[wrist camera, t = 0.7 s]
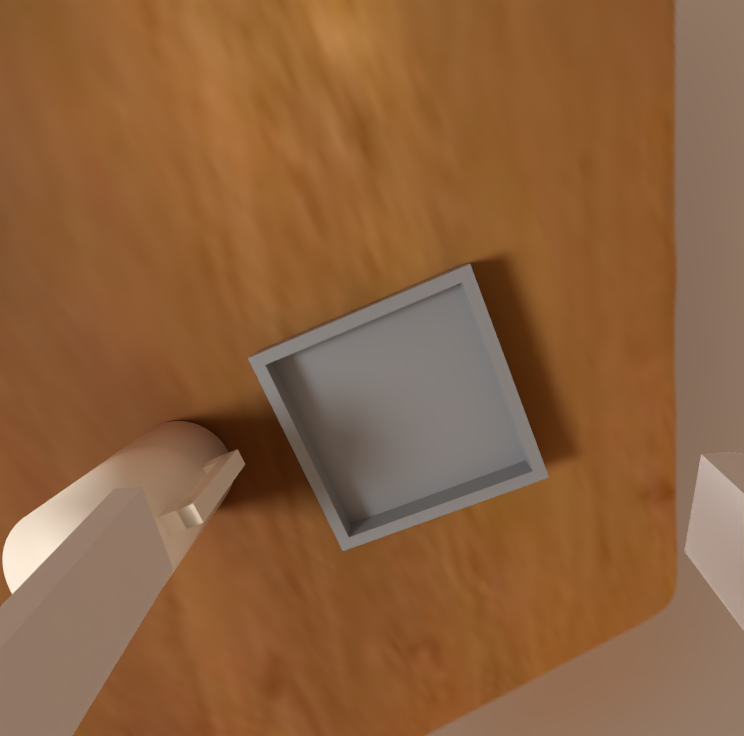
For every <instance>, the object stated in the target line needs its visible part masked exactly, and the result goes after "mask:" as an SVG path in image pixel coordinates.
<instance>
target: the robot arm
mask: <svg viewBox="0 0 744 736" xmlns="http://www.w3.org/2000/svg"><path fill="white" fill-rule="evenodd" d="M685 553H686V554H687V555H688V557H689V558H690V559H691V561H692V562H693V563H694V565H695V566H696V567H697V569H698V570H699V571H700V573H701V574H702V575H703V577H704V578H705V580H706V581H707V582H708V584H709V585H710V586H711V587H712V589H713V590H714V592H715V593H716V594H717V595H718V597H719V598H720V600H721V601H722V602H723V604H724V605H725V606H726V608H727V609H728V610H729V612H730V613H731V614H732V616H733V617H734V618H735V620H736V621H737V622H738V624H739V625H740V626H741V628H742V629H743V630H744V455H743V454H741V453H740V452H727V453H710V454H701V458H700V464H699V470H698V476H697V482H696V487H695V493H694V499H693V505H692V511H691V516H690V523H689V528H688V534H687V540H686V545H685ZM173 570H174V569H173V567H172V564H171V562H170V559H169V556H168V554H167V551H166V548H165V546H164V543H163V540H162V538H161V535H160V533H159V530H158V527H157V525H156V522H155V519H154V517H153V514H152V511H151V509H150V506H149V504H148V501H147V498H146V496H145V493H144V490H143V488H142V487H134V488H117V489H113V490H112V491H111V493H110V494H109V495H108V496H107V497H106V498H105V499H104V500H103V501H102V502H101V503H100V504H99V505H98V506H97V507H96V508H95V509H94V510H93V511H92V512H91V513H90V514H89V515H88V516H87V517H86V518H85V519H84V521H83V522H82V523H81V524H80V525H79V526H78V527H77V528H76V529H75V530H74V531H73V532H72V533H71V534H70V535H69V536H68V537H67V538H66V539H65V540H64V541H63V542H62V543H61V544H60V545H59V546H58V547H57V549H56V550H55V551H54V552H53V553H52V554H51V555H50V556H49V557H48V558H47V559H46V560H45V561H44V562H43V563H42V564H41V565H40V566H39V567H38V568H37V569H36V570H35V571H34V572H33V573H32V574H31V575H30V576H29V578H28V579H27V580H26V581H25V582H24V583H23V584H22V585H21V586H20V587H19V588H18V589H17V590H16V591H15V592H14V593H13V594H12V595H11V596H10V597H9V598H8V599H7V600H6V601H5V602H4V603H3V604H2V606H1V607H0V736H72V735H73V734H74V732H75V730H76V729H77V727H78V725H79V724H80V722H81V720H82V719H83V717H84V716H85V714H86V712H87V711H88V709H89V707H90V706H91V704H92V702H93V701H94V699H95V698H96V696H97V694H98V693H99V691H100V689H101V688H102V686H103V684H104V683H105V681H106V679H107V678H108V676H109V675H110V673H111V671H112V670H113V668H114V666H115V665H116V663H117V661H118V660H119V658H120V657H121V655H122V653H123V652H124V650H125V648H126V647H127V645H128V643H129V642H130V640H131V638H132V637H133V635H134V634H135V632H136V630H137V629H138V627H139V625H140V624H141V622H142V620H143V619H144V617H145V615H146V614H147V612H148V611H149V609H150V607H151V606H152V604H153V602H154V601H155V599H156V597H157V596H158V594H159V593H160V591H161V589H162V588H163V586H164V584H165V583H166V581H167V579H168V578H169V576H170V574H171V573H172V571H173Z"/></svg>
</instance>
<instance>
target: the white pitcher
mask: <svg viewBox="0 0 744 736" xmlns="http://www.w3.org/2000/svg"><path fill="white" fill-rule="evenodd" d="M244 465H245V462H244V461H243V459H242V457H241V455H240V453H239V451H238V449H237V450H234V451H232V452H228V450H227V448H226V446H225V445H224V444H223V442H222V441H221V440H220V439H219V438H218V437H217V436H216V435H215V434H214V433H212V432H211V431H209V430H208V429H206V428H204V427H202V426H200V425H198V424H195V423H191V422H186V421H171V422H165V423H162V424H159V425H157V426H155V427H154V428H152V429H151V430H149V431H148V432H146V433H145V434H143V435H142V436H141V437H139V438H138V439H136V440H135V441H133V442H132V443H131V444H129V445H128V446H126V447H125V448H123V449H122V450H120V451H119V452H118V453H116V454H115V455H113V456H112V457H110V458H109V459H108V460H106V461H105V462H103V463H102V464H100V465H99V466H97V467H96V468H95V469H93V470H92V471H90V472H89V473H87V474H86V475H85V476H83V477H82V478H80V479H79V480H77V481H76V482H75V483H73V484H72V485H70V486H69V487H67V488H66V489H64V490H63V491H62V492H60V493H59V494H57V495H56V496H54V497H53V498H52V499H50V500H49V501H47V502H46V503H44V504H43V505H41V506H40V507H39V508H37V509H36V510H34V511H33V512H31V513H30V514H29V515H27V516H26V517H24V518H23V519H21V520H20V521H19V522H18V523H17V524H16V525H15V527H14V528H13V529H12V531H11V532H10V534H9V536H8V538H7V540H6V543H5V546H4V551H3V570H4V575H5V578H6V582H7V584H8V586H9V588H10V591H11V592H12V594H13V593H14V592H15V591H16V590H17V589H18V588H19V587H20V586H21V585H22V584H23V583H24V582H25V581H26V580H27V579H28V578H29V576H30V575H31V574H32V573H33V572H34V571H35V570H36V569H37V568H38V567H39V566H40V565H41V564H42V563H43V562H44V561H45V560H46V559H47V558H48V557H49V556H50V555H51V554H52V553H53V552H54V551H55V550H56V549H57V547H58V546H59V545H60V544H61V543H62V542H63V541H64V540H65V539H66V538H67V537H68V536H69V535H70V534H71V533H72V532H73V531H74V530H75V529H76V528H77V527H78V526H79V525H80V524H81V523H82V522H83V521H84V519H85V518H86V517H87V516H88V515H89V514H90V513H91V512H92V511H93V510H94V509H95V508H96V507H97V506H98V505H99V504H100V503H101V502H102V501H103V500H104V499H105V498H106V497H107V496H108V495H109V494H110V493H111V491H112V490H113V489H117V488H134V487H142V488H143V490H144V493H145V496H146V498H147V501H148V504H149V506H150V509H151V511H152V514H153V517H154V519H155V522H156V525H157V527H158V530H159V533H160V535H161V538H162V540H163V543H164V546H165V548H166V551H167V554H168V556H169V559H170V562H171V564H172V567H173V569H174V570H173V571H172V573H171V574H170V576H171V575H172V574H173V572H174V571H175V569H176V568H177V566H178V565H179V564H180V562H181V561H182V559H183V558H184V556H185V555H186V554H187V552H188V551H189V549H190V548H191V546H192V545H193V543H194V542H195V541H196V539H197V538H198V536H199V535H200V533H201V532H202V531H203V529H204V528H205V526H206V525H207V523H208V522H209V521H210V519H211V518H212V516H213V515H214V513H215V512H216V510H217V509H218V508H219V506H220V505H221V503H222V502H223V500H224V499H225V498H226V496H227V494H228V493H229V491H230V489H231V486H232V483H233V481H234V479H235V478H236V477H237V475H238V474H239V472H240V471H241V470H242V468H243V467H244ZM170 576H169V578H170ZM169 578H168V579H169ZM168 579H167V581H168ZM167 581H166V582H167ZM165 584H166V583H165ZM165 584H164V585H165ZM163 587H164V586H163Z"/></svg>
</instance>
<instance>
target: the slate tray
mask: <svg viewBox="0 0 744 736" xmlns="http://www.w3.org/2000/svg"><path fill="white" fill-rule="evenodd" d="M248 359H249V361H250V364H251V366H252V368H253V370H254V372H255V374H256V376H257V378H258V380H259V382H260V384H261V386H262V388H263V390H264V392H265V394H266V396H267V398H268V400H269V402H270V404H271V406H272V408H273V410H274V412H275V414H276V416H277V418H278V420H279V422H280V424H281V427H282V429H283V431H284V433H285V435H286V437H287V439H288V441H289V443H290V445H291V447H292V449H293V451H294V453H295V455H296V457H297V459H298V461H299V463H300V465H301V467H302V469H303V471H304V473H305V475H306V477H307V479H308V481H309V483H310V485H311V487H312V490H313V492H314V494H315V496H316V498H317V500H318V502H319V504H320V506H321V508H322V510H323V512H324V514H325V516H326V518H327V520H328V522H329V524H330V526H331V528H332V530H333V532H334V534H335V536H336V538H337V540H338V542H339V544H340V546H341V548H342V551H345V550H347V549H350V548H353V547H356V546H359V545H361V544H364V543H367V542H370V541H373V540H375V539H378V538H381V537H384V536H387V535H389V534H392V533H395V532H398V531H401V530H403V529H406V528H409V527H412V526H415V525H417V524H420V523H423V522H426V521H429V520H431V519H434V518H437V517H440V516H443V515H445V514H448V513H451V512H454V511H457V510H459V509H462V508H465V507H468V506H471V505H473V504H476V503H479V502H482V501H485V500H487V499H490V498H493V497H496V496H499V495H502V494H504V493H507V492H510V491H513V490H516V489H518V488H521V487H524V486H527V485H530V484H532V483H535V482H538V481H541V480H544V479H546V478H549V476H548V473H547V470H546V468H545V465H544V462H543V460H542V457H541V454H540V451H539V449H538V446H537V443H536V441H535V438H534V435H533V432H532V430H531V427H530V424H529V422H528V419H527V416H526V413H525V411H524V408H523V405H522V403H521V400H520V397H519V394H518V392H517V389H516V386H515V384H514V381H513V378H512V376H511V373H510V370H509V367H508V365H507V362H506V359H505V357H504V354H503V351H502V348H501V346H500V343H499V340H498V338H497V335H496V332H495V329H494V327H493V324H492V321H491V319H490V316H489V313H488V311H487V308H486V305H485V302H484V300H483V297H482V294H481V292H480V289H479V286H478V283H477V281H476V278H475V275H474V273H473V270H472V267H471V264H462V265H459V266H457V267H455V268H452V269H450V270H448V271H445V272H443V273H441V274H438V275H436V276H434V277H431V278H429V279H426V280H424V281H422V282H419V283H417V284H415V285H412V286H410V287H408V288H405V289H403V290H401V291H398V292H396V293H394V294H391V295H389V296H387V297H384V298H382V299H379V300H377V301H375V302H372V303H370V304H368V305H365V306H363V307H361V308H358V309H356V310H354V311H351V312H349V313H347V314H344V315H342V316H340V317H337V318H335V319H332V320H330V321H328V322H325V323H323V324H321V325H318V326H316V327H314V328H311V329H309V330H307V331H304V332H302V333H300V334H297V335H295V336H293V337H290V338H288V339H285V340H283V341H281V342H278V343H276V344H274V345H271V346H269V347H267V348H264V349H262V350H260V351H258V352H256V353H255V354H253V355H252V356H250V357H249V358H248Z"/></svg>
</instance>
